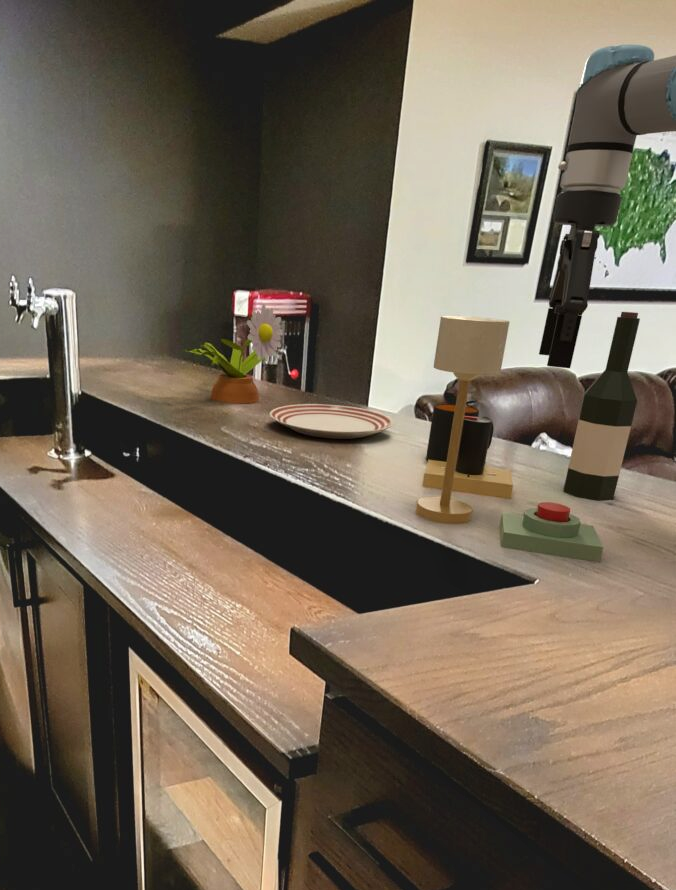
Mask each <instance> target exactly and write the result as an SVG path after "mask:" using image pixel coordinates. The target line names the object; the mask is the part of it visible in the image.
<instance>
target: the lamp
mask: <svg viewBox="0 0 676 890" xmlns="http://www.w3.org/2000/svg"><path fill="white" fill-rule="evenodd" d="M509 327H510V320H507V319H499V318H491V317H480V316H466V315H465V316H464V315H441V316H440V320H439V327H438V333H437V340H436V346H435V347H436V348H435V353H434V360H433V368H434V369H435V370H438V371H443V372H447V373H453V375H454V377H455V378H457V379H458V380H459V381H458V388H457V394H456V401H455V405H456V406H455V412H454V418H453V424H452V431H451V437H450V443H449V449H448V455H447V462H446V468H445V474H444V480H443V487H442V489H441V493H440V494H441V495H440V496H425V497H421V498H419V499H417V501H416V506H415V514H416V515H418V516H419V517H420V518H423V519H425V520H428V521H431V522H435V523H441V524H448V525H458V524H459V525H461V524H466V523H469V522H470V521H471V520H472V514H473V507H472V506H471V504H468V503H466V502H464V501H461V500H459V499H453V498H452V493H453V491H452V487H453V481H454V475H455V469H456V463H457V457H458V450H459V444H460V438H461V432H462V426H463V420H464V414H465V408H466V406H467V403H468V396H469V389H470V383H471V381H473V380H475V379H477V378H478V377H479V376H497V375H500V374H501V373H502V366H503V361H504V355H505V350H506V344H507V338H508V333H509V329H510V328H509Z"/></svg>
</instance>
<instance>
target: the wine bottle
mask: <svg viewBox="0 0 676 890" xmlns="http://www.w3.org/2000/svg"><path fill="white" fill-rule="evenodd" d="M638 316H639V312H633V311H621V313H620V316H617V317H616V322H615V326H614V331H613V335H612V338H611V343H610V348H609V352H608V357H607V362H606V366H605V369H604V371H602V373H601V374H599V376H598V377H597V378H596V379H595V380H594V381H593V383H592V384H591V385H590V386H589V387H588V388H587V389H586V391H584V393H583V399H582V404H581V408H580V413H579V417H578V421H577V427H576V431H575V435H574V440H573V444H572V448H571V454H570V459H569V463H568V468H567V472H566V477H565V481H564V486H563V492H564V493H567V494H569V495H570V496H571V495H572V496H574V497H576V498H579V499H586V500H587V499H588V500H591V501H593V500H594V501H611V500H612V501H613V500H614V498H615V495H616V489H617V485H618V481H619V477H620V474H621V469H622V465H623V461H624V458H625V457H624V456H625V452H626V449H627V445H628V441H629V437H630V433H631V429H632V424H633V420H634V416H635V411H636V408H637V407H636V406H637V405H638V404H637V403H638V398H637V396H636V393H635V390H634V387H633V385H632V381H631V377H630V376H629V373H628V371H629V367H630V363H631V359H632V355H633V351H634V346H635V342H636V337H637V333H638V330H639V324H640V321H641V318H638Z"/></svg>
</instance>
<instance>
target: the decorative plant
mask: <svg viewBox="0 0 676 890" xmlns="http://www.w3.org/2000/svg"><path fill="white" fill-rule="evenodd" d="M251 315H252V316H251V318H250V320H246V324H247V326H248V328H249V329H250V330H249V333H248V335H247V339H246V341H245V342H244V344H243V346H240V345H239V344H237V343H235V342H233V341H231V340H229V339H225V338H220V341H221V343H223V344H225V345H226V346H228V347H230V348H232V352H231V357H230V362H229V361H228V359H227V358H226V357H225V355H223V354H222V353H221V352H219V351H218V350H217V349H216V348H215V346H213V344H211V343H209V342H206V341H205V342H204V343H203V344H199V346H200V347H201V348H194V349H192V350H187V349H184V351H185V353H192V354H194V355H196V356H197V355H198V356H199V355H200V356H201V355H204V356H205V357H206V358H208V359H209V360H210V361H211V362H212V363H211V364H210V367H213V366H215V365H216V366H217V367H218V368H219V369H220V370H221V371H222V372H223V373H221V374H219V377H218V379H217V381H216V382H215V383H214V384H213V386H212V388H211V393H210V395H209V398H210V399H211V400H213V401H217V402H221V403H228V404H255V403H258V402H260V397H259V390H258V387H257V385H256V383H255V382H254V379H253V376H251V375H247V374H248V373H250V371H252V370H253V369H254V368H255V367H256V366H257V365H258V364H260V363H261V362H262V361H264V360H265V362H268V361H269V357H270V358H271V357H275V358H276V357H277V351H278V348H282V344H281V339H282V337H281V336H282V335H283V334H284V331H283V330H282V329H281V328H282V325H281V324H280V323H281V321H282V317H281V316H276V314H275V313H274V308H273V307H271V308H268V307H266V305H265V303H263V304H262V305H261V309H260V310H257V311H256V310H255V311H254V310H252V311H251ZM251 344H252V346H251V350H252V352H250V354H249V355H248V356H247V357H246V358H245V359H244V360H243V354H244V351H245V348H247V347H248V346H249V345H251ZM202 348H204V349H207V350H203V349H202Z"/></svg>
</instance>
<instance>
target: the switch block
mask: <svg viewBox="0 0 676 890" xmlns="http://www.w3.org/2000/svg"><path fill="white" fill-rule="evenodd" d="M537 508H538V507H532V508H531V507H530V508H528V509H525V510H524V512H523V515H522V514H515V513H509V512H501V516H500V521H499V527H498V528H499V538H500V540H499V541H500V548H502V549H503V548H505V549H509V550H517V551H524V552H528V553H529V552H530V553H535V554H542V555H549V556H553V557H561V558H568V559H574V560H578V561H579V560H580V561H587V562H591V563H600V561H601V556H602V553H603V548H604V547H603V544H602V542H601V540H600V538H599V536H598V534H597V531H596V529H595V527H594V525H591V524H584V523H582V522H581V520H580V518H579V517H577V516H576V515H574V514H572V513H570V514H569V519H568V522H554V521H548V520H545V519H541V518H539V517H537V516H536V513H537Z"/></svg>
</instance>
